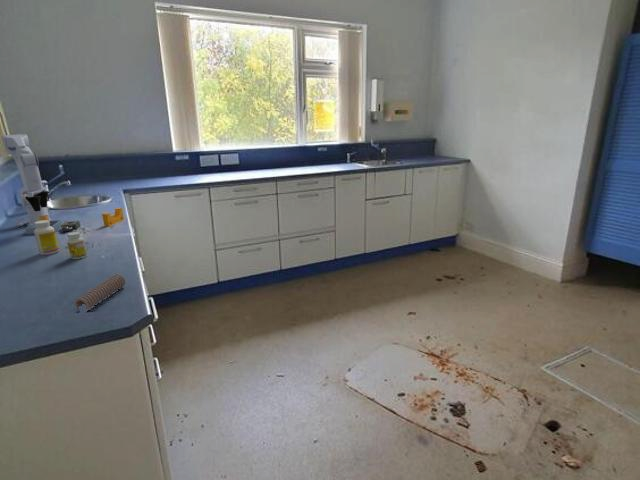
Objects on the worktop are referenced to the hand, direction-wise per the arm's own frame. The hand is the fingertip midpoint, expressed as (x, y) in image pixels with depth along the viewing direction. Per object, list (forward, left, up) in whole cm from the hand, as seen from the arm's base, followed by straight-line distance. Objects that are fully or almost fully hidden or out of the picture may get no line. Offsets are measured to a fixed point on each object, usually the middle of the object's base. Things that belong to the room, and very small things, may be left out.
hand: (41, 209), depth 180 cm
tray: (0, 0, -10) cm, 10 cm away
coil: (+87, +45, -11) cm, 98 cm away
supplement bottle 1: (+36, +14, -10) cm, 40 cm away
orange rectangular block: (0, 0, -10) cm, 10 cm away
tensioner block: (+3, +11, -10) cm, 15 cm away
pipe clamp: (-3, +28, -11) cm, 30 cm away
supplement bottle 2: (+45, +27, -10) cm, 54 cm away
